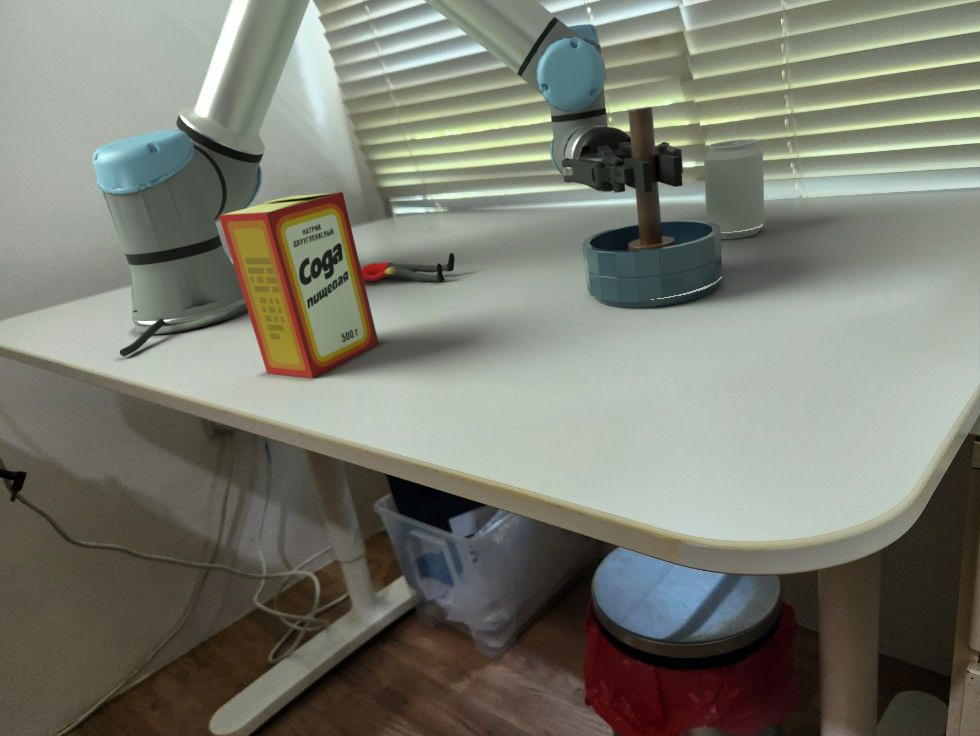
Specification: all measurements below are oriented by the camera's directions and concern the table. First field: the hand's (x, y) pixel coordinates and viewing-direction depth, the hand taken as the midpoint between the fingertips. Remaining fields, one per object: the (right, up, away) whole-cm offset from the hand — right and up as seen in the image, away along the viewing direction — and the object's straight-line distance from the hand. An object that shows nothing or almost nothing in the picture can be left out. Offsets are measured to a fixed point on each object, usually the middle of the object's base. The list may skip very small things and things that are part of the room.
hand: (662, 174), depth 73 cm
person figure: (-32, -5, +33) cm, 46 cm away
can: (+15, +1, +29) cm, 33 cm away
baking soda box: (-34, -18, +4) cm, 39 cm away
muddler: (0, -6, +9) cm, 11 cm away
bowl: (+1, -10, +10) cm, 14 cm away
